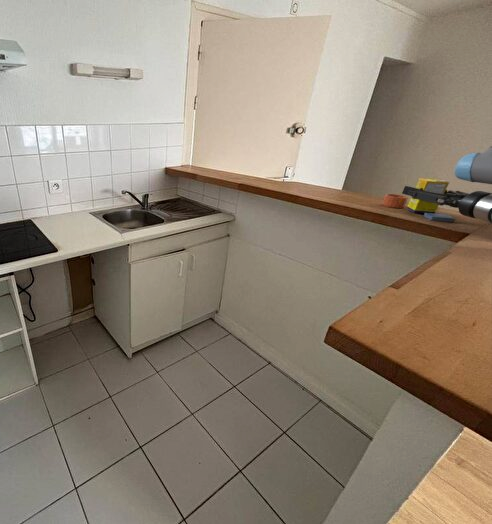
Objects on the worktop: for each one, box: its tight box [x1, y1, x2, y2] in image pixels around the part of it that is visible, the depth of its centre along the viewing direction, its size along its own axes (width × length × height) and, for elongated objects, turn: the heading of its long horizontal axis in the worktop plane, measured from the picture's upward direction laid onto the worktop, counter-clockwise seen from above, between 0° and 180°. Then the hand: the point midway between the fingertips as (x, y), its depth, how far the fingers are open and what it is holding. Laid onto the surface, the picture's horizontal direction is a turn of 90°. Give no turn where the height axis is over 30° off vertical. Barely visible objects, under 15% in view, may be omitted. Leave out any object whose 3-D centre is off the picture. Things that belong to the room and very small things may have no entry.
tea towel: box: [423, 213, 457, 223], centre depth 93 cm, size 6×5×1 cm
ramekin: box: [381, 193, 409, 209], centre depth 106 cm, size 7×7×4 cm
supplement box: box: [406, 177, 450, 214], centre depth 97 cm, size 6×6×11 cm
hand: (415, 189), depth 101 cm, fingers closed on supplement box, 7 cm apart
